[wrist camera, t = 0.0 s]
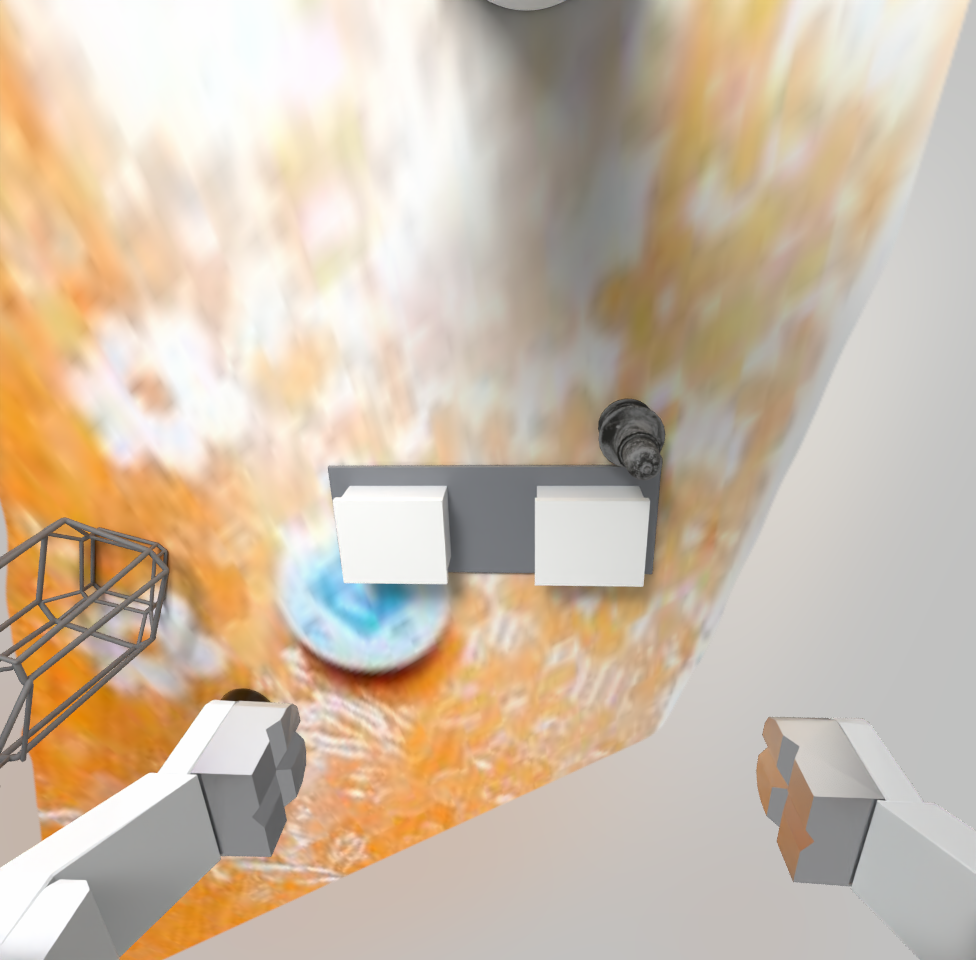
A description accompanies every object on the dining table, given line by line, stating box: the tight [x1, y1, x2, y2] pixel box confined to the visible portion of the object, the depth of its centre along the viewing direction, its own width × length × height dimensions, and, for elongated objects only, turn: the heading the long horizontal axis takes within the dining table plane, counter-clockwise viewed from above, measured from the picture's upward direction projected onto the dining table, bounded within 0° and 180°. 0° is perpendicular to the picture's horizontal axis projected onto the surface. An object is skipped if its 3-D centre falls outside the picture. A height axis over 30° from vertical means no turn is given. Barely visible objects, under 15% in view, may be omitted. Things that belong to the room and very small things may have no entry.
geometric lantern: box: [0, 517, 169, 768], centre depth 52 cm, size 16×16×35 cm
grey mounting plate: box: [328, 465, 661, 587], centre depth 60 cm, size 12×33×5 cm, turn 92°
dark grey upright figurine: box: [598, 399, 665, 480], centre depth 52 cm, size 6×6×12 cm
